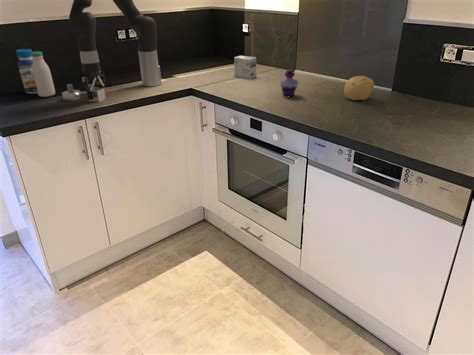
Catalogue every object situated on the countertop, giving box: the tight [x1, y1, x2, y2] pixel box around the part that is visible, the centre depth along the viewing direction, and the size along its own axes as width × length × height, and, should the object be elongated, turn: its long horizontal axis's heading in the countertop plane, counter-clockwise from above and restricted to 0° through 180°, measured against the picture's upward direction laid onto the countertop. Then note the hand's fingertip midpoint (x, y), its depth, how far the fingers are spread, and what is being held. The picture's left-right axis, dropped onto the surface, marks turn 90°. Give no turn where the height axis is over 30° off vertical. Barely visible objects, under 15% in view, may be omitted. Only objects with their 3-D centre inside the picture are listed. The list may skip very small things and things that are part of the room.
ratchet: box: [61, 83, 109, 102], centre depth 180 cm, size 20×8×6 cm, turn 118°
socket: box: [88, 86, 107, 103], centre depth 175 cm, size 5×5×5 cm
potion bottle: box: [279, 69, 299, 98], centre depth 178 cm, size 9×9×12 cm
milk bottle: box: [31, 50, 56, 98], centre depth 180 cm, size 8×8×20 cm
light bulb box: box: [233, 55, 257, 80], centre depth 211 cm, size 11×7×11 cm, turn 58°
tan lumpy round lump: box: [343, 75, 375, 101], centre depth 172 cm, size 12×12×11 cm
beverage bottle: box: [15, 48, 38, 95], centre depth 185 cm, size 8×8×20 cm
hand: (96, 96), depth 176 cm, fingers open, 8 cm apart
